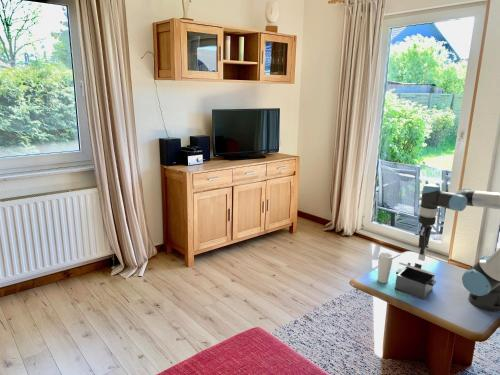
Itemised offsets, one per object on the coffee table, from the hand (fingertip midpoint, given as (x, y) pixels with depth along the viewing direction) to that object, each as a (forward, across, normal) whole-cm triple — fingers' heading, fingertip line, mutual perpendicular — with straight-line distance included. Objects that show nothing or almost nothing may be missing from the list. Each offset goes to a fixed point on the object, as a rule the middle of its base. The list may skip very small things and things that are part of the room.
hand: (421, 259), depth 186 cm
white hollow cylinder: (+15, +7, -16) cm, 23 cm away
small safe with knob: (+15, +4, -1) cm, 16 cm away
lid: (+4, +4, -1) cm, 6 cm away
